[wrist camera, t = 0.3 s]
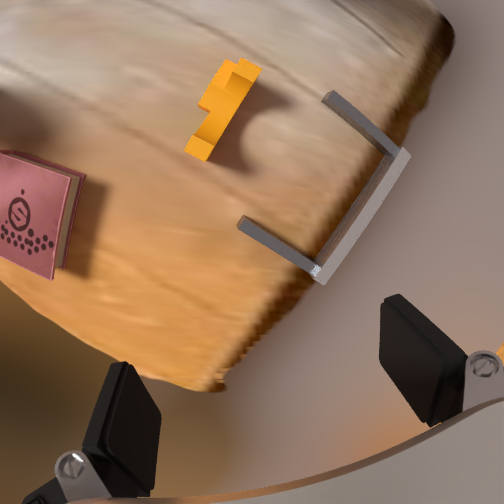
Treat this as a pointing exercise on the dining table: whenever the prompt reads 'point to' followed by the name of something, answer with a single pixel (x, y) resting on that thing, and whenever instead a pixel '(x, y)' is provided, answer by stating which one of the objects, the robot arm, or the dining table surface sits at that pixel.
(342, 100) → the bracket
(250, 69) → the pipe clamp
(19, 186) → the book
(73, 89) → the dining table surface
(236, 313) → the dining table surface
